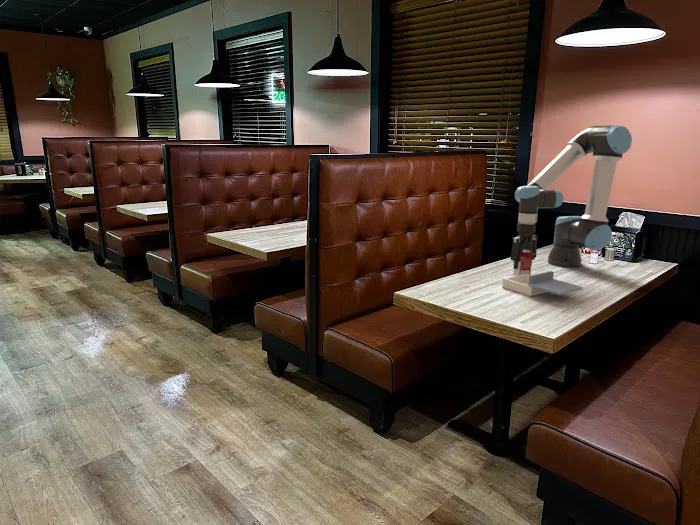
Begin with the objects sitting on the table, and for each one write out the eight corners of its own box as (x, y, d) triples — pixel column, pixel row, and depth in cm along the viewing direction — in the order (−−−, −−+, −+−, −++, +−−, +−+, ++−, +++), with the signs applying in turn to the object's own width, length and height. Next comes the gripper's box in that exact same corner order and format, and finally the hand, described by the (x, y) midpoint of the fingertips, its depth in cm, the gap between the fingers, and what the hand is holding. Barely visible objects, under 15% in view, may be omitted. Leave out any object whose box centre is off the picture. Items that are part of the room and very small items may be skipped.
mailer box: (525, 282, 210) (526, 273, 210) (553, 290, 199) (554, 282, 198) (502, 286, 203) (503, 278, 202) (530, 296, 192) (531, 287, 191)
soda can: (530, 279, 214) (533, 252, 211) (514, 278, 215) (516, 251, 212) (528, 275, 220) (531, 248, 217) (512, 274, 222) (515, 248, 219)
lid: (550, 280, 200) (551, 270, 199) (582, 289, 188) (583, 279, 187) (527, 285, 192) (528, 275, 191) (558, 294, 181) (560, 284, 180)
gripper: (534, 219, 220) (529, 270, 226) (504, 223, 210) (499, 275, 216) (549, 222, 214) (543, 273, 220) (518, 226, 204) (513, 280, 210)
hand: (521, 274), depth 218 cm, fingers closed on soda can, 6 cm apart
